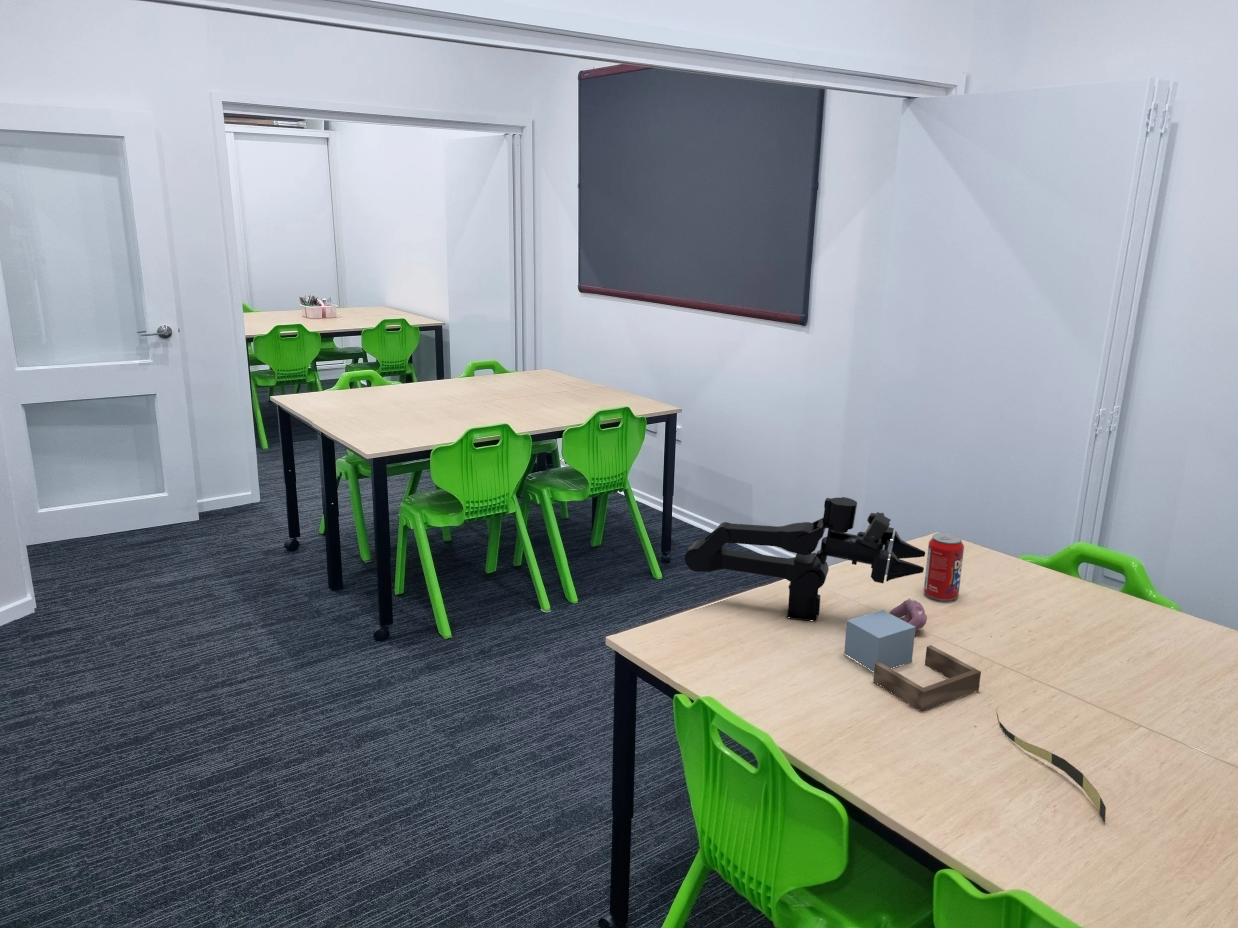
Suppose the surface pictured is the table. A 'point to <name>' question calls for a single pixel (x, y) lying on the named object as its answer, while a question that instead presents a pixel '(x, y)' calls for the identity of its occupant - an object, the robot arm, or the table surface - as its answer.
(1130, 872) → the table surface
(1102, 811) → the tape
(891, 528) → the robot arm
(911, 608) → the video game controller
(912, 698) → the walnut bay
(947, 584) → the soda can
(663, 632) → the table surface
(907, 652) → the slate block
